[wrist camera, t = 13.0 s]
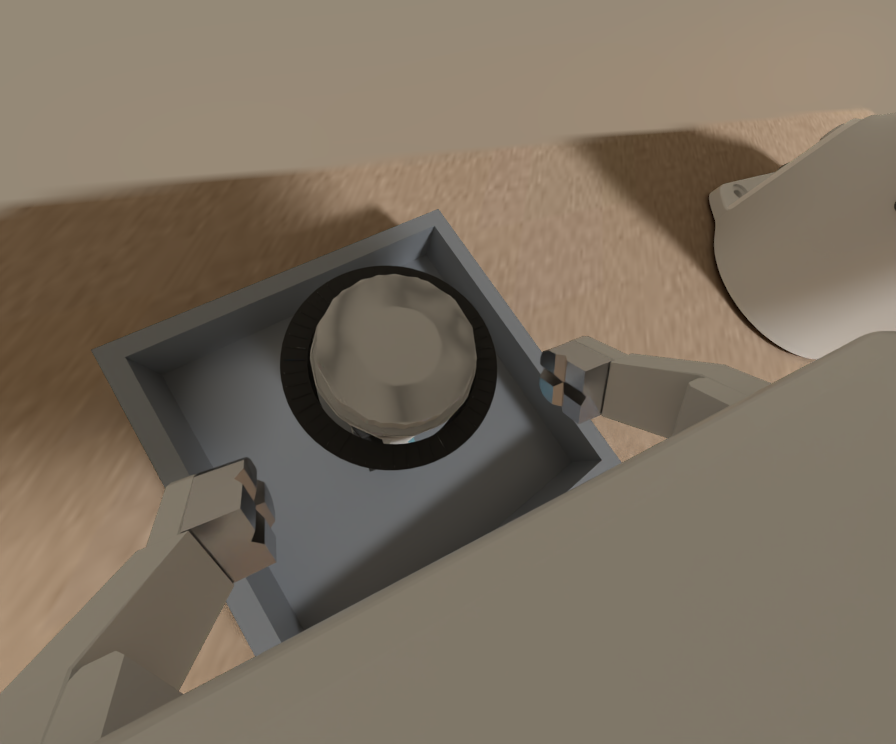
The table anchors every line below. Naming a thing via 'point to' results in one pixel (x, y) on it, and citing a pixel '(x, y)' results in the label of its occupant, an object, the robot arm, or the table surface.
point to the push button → (388, 367)
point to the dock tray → (320, 472)
